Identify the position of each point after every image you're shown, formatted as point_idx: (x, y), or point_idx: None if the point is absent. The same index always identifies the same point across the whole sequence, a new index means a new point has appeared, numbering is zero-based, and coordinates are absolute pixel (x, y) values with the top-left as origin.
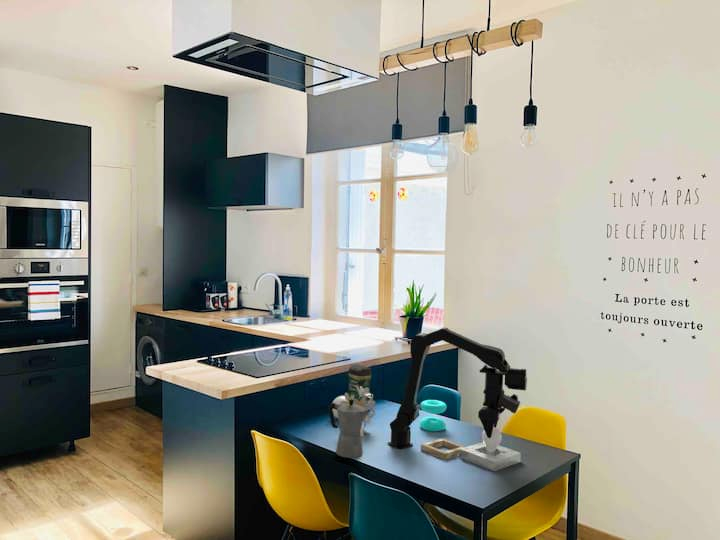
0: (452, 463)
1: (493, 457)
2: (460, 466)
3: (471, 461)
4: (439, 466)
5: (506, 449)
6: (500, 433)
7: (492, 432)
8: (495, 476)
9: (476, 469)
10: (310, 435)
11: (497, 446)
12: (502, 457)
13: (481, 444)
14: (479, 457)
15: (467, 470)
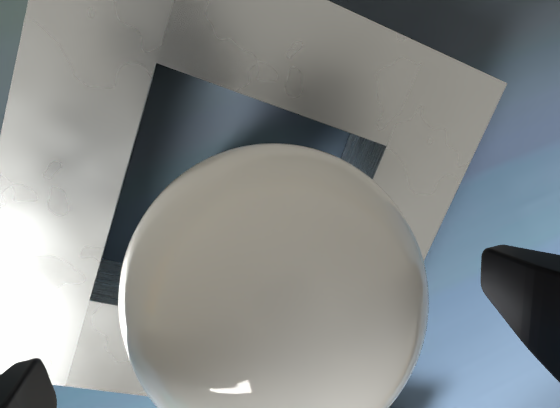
0: (441, 353)
1: (403, 130)
2: (467, 297)
3: None
4: (517, 379)
5: (64, 91)
6: (284, 188)
7: (419, 294)
8: (542, 35)
9: (472, 198)
10: None
11: (41, 214)
12: (358, 51)
13: (111, 357)
14: (425, 237)
15: (512, 236)
